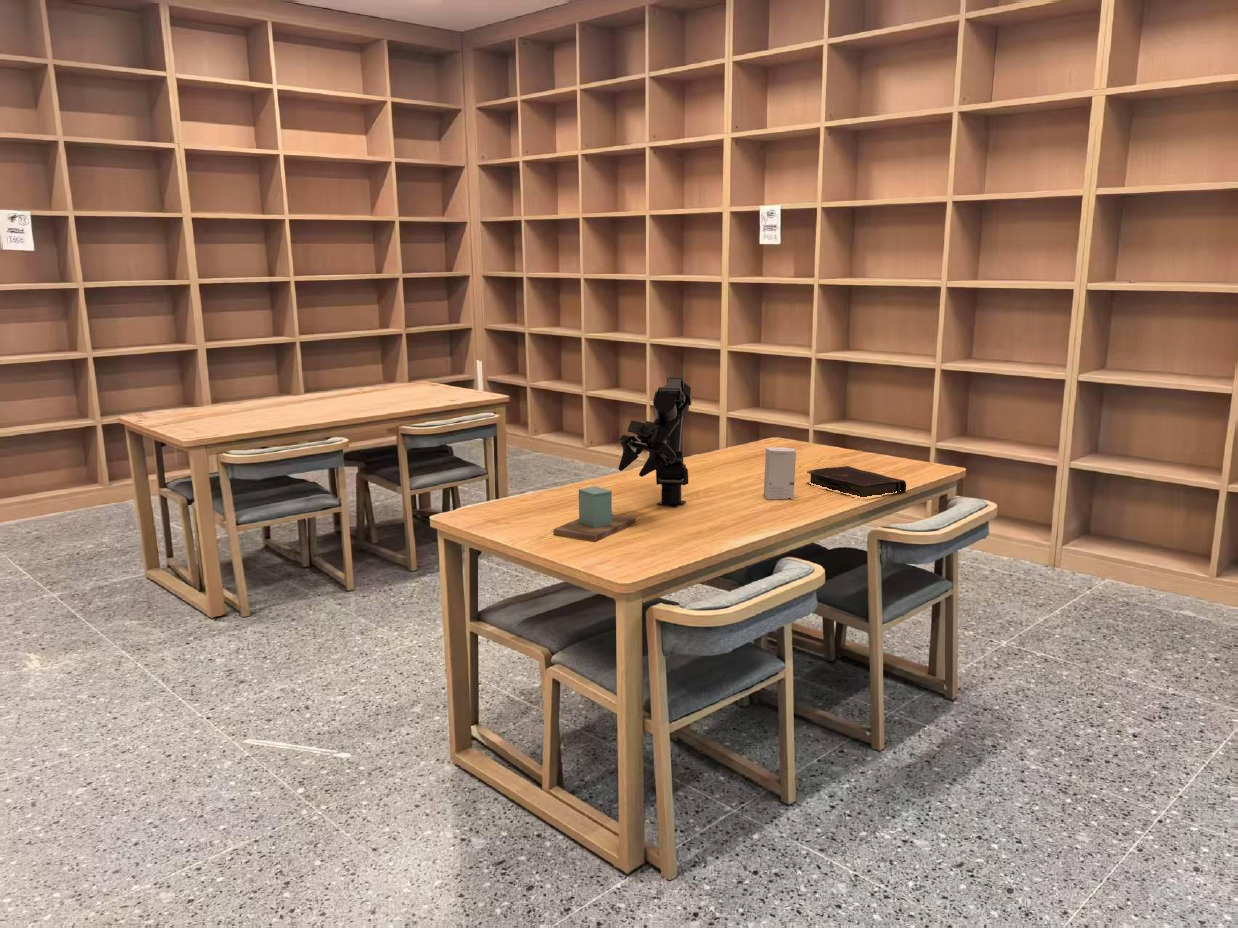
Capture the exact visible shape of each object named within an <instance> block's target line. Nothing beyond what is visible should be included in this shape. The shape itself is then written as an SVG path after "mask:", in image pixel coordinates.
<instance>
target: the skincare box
mask: <svg viewBox="0 0 1238 928" xmlns="http://www.w3.org/2000/svg"><path fill="white" fill-rule="evenodd" d="M796 458H797V450H796V449H795V448H793V447H771V446H770V447H768V446H767V447H765V459H764V480H763V496H764V495H765V496H764V497H765V498H766V500H789V499H788V498H793V499H794V497H795V495H794V492H795V482H796V481H795V480H796V479H795V477H796V466H797V465H796V463H797V462H796V461H797V459H796Z"/></svg>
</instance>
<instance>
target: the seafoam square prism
mask: <svg viewBox="0 0 1238 928" xmlns="http://www.w3.org/2000/svg"><path fill="white" fill-rule="evenodd" d="M612 494H613V493H612V490H609V489H606V488H604V487H603V488H602V487H601V486H597V485H596V486H590V487H584V488H578V519H579V522H580V523H582V524H585V525H588V526H590V527H593V528H597V527H602V526H606V525H611V524H612V513H613V509H612V507H613V506H612V505H613V504H612V503H613V502H612V500H613V499H612Z"/></svg>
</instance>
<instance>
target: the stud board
mask: <svg viewBox="0 0 1238 928" xmlns="http://www.w3.org/2000/svg"><path fill="white" fill-rule="evenodd" d="M635 524H637V517H633V516H624V515H620V514H612V524H611V525H606V526H602V527H597V528H593V527H590V526H588V525H585V524H582V523H580V522H579V518H577V519H574V520H571V521H570V522H566V523H565V524H563V525H560V526H557V527H555V528H553V535H554V536H559V537H565V538H570V539H571V538H572V539H576V540H582V541H583V540H584V541H589V542H595V543H596V542H598V541H601V540H603V539H606V538H608V537H609V536H612V535H613V534H616V533H618V532H620V531H622V530H625V529H626V528H629V527H631V526H633V525H635Z"/></svg>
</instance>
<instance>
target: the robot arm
mask: <svg viewBox="0 0 1238 928" xmlns="http://www.w3.org/2000/svg"><path fill="white" fill-rule="evenodd" d="M692 397H693V396H692V387H691V386H689V385H688V384H687V383H686V382H685V378H683V377H681V376H680V377H674V376H673V377H671V376H670V377H667V378H666V384H665V385H664V386H658V388H657V391H656V390H655V393H654V397H653V400H652V403H653V407H654V411H655V416H656V417H655V419H654V421H649V420H646V421H645V422H641V421H637V420H632V419H631V420H630V423H629V425H628V429H627V432H628V433H632V434H635V435H636V437H635V435H632V434H627V433H626V434H622V436H621V437H620V439H619V440H618V442H620V445H621V447H622V451H623V452H622V454H621V458H620V462H619V465H618V471H620V472H622V471H624V470H625V469H626V468H627V467H628V466H630V465H631V464H633V462H635V461H636V460H637V459H638V458H639V457H640V456H639V455H640V454H641V453H643V451H645V452H647V453H649V454H648V458H647V460H646V462H645V463H644V465H643V466H642V468H641V469H640V472H639V474H638V475H639V477H641V478H642V477H645V476H647V475H648V474H650V473H651V472H654V471H655V479H656V480H655V481H656V485H657V486H659V485H661V495H660V496H661V499H660V501H658V502H656V505H658V506H664V507H672V508H677V507H680V506H682V505H684V504H686V503H687V501H686V500H682V486H686V485H688V484H689V468H687V466H686V465H687V464H685V463H684V456H683V452H682V451H681V445H682V433H683V431H682V429H683V419H684V418H685V416H687V415H688V414H689V411H690V410H689V409H690V406H692V401H693V400H692Z"/></svg>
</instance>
